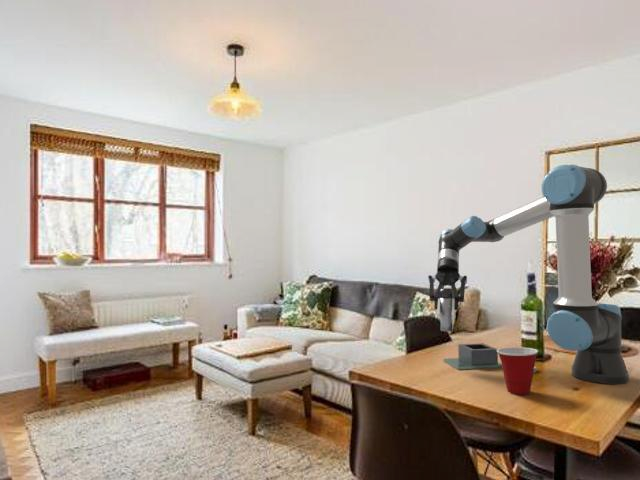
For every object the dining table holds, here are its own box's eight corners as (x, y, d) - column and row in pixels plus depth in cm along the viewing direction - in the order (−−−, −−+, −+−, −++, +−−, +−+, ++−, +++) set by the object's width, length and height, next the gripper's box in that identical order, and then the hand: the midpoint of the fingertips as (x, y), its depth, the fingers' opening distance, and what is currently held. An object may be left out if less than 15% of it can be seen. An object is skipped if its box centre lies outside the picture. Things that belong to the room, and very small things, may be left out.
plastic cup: (506, 383, 135) (506, 343, 135) (545, 391, 127) (544, 348, 127) (490, 391, 128) (489, 349, 128) (529, 401, 120) (528, 355, 120)
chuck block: (502, 367, 153) (502, 349, 153) (458, 369, 150) (457, 351, 150) (485, 359, 164) (485, 342, 164) (443, 361, 161) (443, 344, 161)
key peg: (455, 331, 152) (454, 289, 152) (443, 331, 152) (443, 289, 152) (449, 328, 156) (448, 288, 156) (438, 329, 155) (437, 288, 156)
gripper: (472, 271, 166) (473, 324, 150) (425, 271, 171) (420, 322, 156) (472, 257, 161) (472, 310, 145) (423, 257, 166) (418, 309, 151)
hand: (445, 316), depth 150 cm, fingers closed on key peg, 4 cm apart
